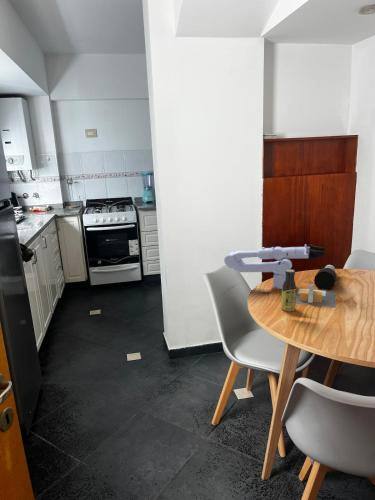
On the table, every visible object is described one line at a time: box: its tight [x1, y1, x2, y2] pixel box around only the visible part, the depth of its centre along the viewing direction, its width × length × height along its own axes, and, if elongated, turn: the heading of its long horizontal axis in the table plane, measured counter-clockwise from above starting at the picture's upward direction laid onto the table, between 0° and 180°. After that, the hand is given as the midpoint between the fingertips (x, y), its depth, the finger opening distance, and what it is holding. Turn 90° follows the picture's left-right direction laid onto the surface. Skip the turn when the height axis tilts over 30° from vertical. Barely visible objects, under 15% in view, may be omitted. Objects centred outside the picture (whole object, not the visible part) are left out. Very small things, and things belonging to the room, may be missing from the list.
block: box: [300, 290, 322, 303], centre depth 175 cm, size 10×4×4 cm, turn 69°
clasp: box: [308, 283, 315, 303], centre depth 175 cm, size 2×9×7 cm, turn 159°
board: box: [296, 288, 337, 308], centre depth 179 cm, size 18×20×2 cm
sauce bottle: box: [280, 268, 297, 313], centre depth 165 cm, size 6×6×20 cm
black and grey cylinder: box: [313, 264, 338, 291], centre depth 202 cm, size 10×34×10 cm, turn 154°
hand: (324, 251), depth 182 cm, fingers open, 7 cm apart
